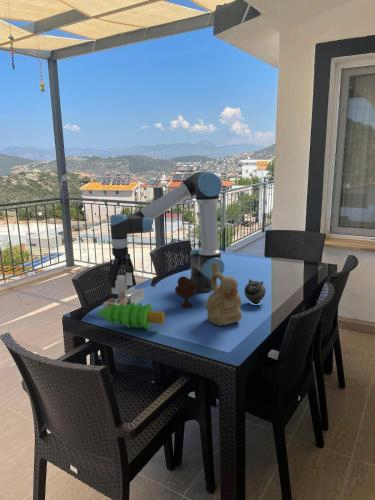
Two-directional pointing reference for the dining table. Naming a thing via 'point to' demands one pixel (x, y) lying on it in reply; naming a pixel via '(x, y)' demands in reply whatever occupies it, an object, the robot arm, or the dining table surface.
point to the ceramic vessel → (223, 299)
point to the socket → (112, 302)
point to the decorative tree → (132, 315)
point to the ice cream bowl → (186, 290)
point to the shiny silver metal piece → (123, 288)
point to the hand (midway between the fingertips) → (122, 289)
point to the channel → (135, 295)
